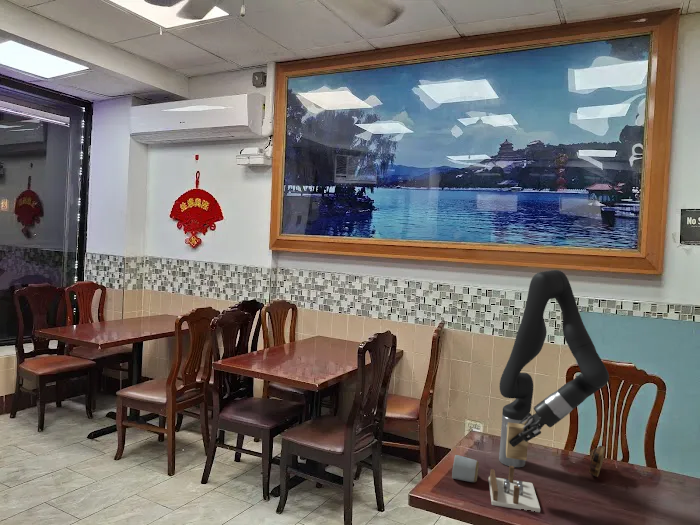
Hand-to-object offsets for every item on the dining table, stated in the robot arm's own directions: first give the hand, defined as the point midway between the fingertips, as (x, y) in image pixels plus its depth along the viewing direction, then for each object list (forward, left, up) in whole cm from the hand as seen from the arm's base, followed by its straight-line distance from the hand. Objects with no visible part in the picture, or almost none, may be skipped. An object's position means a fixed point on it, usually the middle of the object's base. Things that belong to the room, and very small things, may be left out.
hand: (510, 441), depth 163 cm
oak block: (-1, +2, -5) cm, 5 cm away
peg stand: (-1, +2, -17) cm, 17 cm away
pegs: (-1, +2, -16) cm, 16 cm away
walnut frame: (0, -1, -16) cm, 16 cm away
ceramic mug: (-1, -15, -18) cm, 23 cm away
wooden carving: (-38, +19, -17) cm, 46 cm away
